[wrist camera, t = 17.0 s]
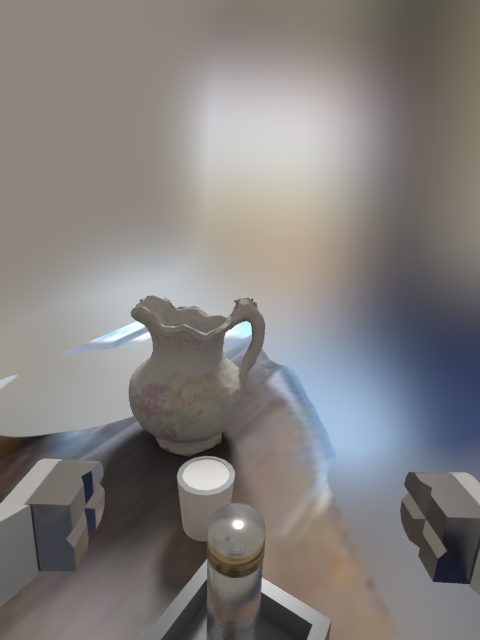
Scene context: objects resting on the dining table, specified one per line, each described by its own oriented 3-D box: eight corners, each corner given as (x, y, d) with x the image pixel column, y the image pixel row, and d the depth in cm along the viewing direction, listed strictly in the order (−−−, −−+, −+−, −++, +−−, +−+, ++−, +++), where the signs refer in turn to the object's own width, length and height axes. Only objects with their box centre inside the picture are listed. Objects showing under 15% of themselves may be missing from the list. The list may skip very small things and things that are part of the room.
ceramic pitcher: (242, 410, 72) (244, 290, 68) (274, 462, 53) (279, 302, 49) (133, 420, 67) (128, 291, 62) (127, 482, 48) (119, 304, 44)
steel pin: (194, 678, 27) (194, 531, 23) (224, 629, 30) (228, 494, 27) (239, 717, 25) (246, 562, 21) (266, 660, 28) (275, 518, 25)
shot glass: (190, 556, 38) (190, 502, 36) (169, 512, 44) (168, 464, 42) (243, 531, 41) (246, 481, 40) (217, 494, 47) (218, 449, 45)
